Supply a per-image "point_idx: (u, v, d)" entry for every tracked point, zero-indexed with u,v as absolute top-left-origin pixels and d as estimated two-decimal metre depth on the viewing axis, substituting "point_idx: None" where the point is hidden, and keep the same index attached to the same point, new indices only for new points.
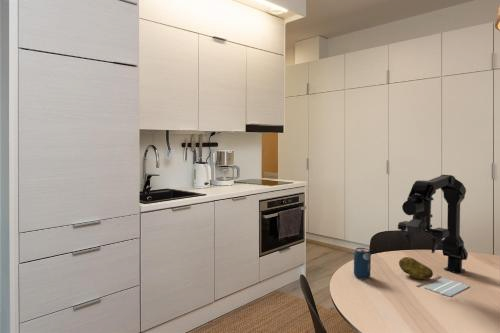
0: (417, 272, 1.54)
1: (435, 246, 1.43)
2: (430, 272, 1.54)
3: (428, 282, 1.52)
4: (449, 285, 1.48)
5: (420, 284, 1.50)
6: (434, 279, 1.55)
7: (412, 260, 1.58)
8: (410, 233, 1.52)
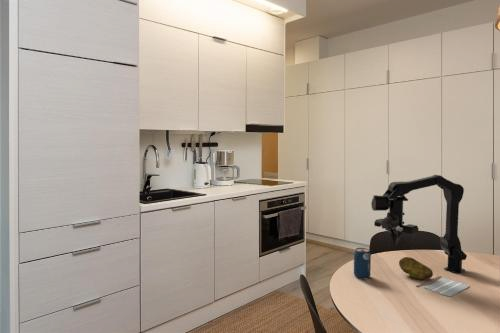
0: (417, 272, 1.54)
1: (397, 238, 1.64)
2: (430, 272, 1.54)
3: (428, 282, 1.52)
4: (449, 285, 1.48)
5: (420, 284, 1.50)
6: (434, 279, 1.55)
7: (412, 260, 1.58)
8: (394, 231, 1.65)
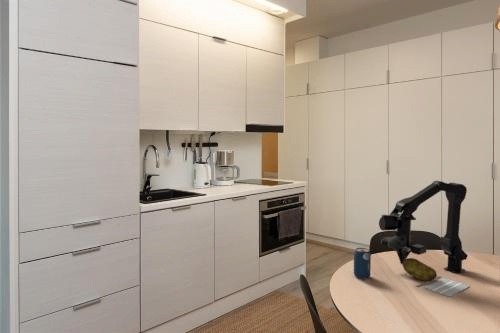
0: (422, 273, 1.53)
1: (404, 258, 1.61)
2: (434, 273, 1.53)
3: (428, 282, 1.52)
4: (449, 285, 1.48)
5: (420, 284, 1.50)
6: (434, 279, 1.55)
7: (416, 261, 1.56)
8: (401, 251, 1.63)
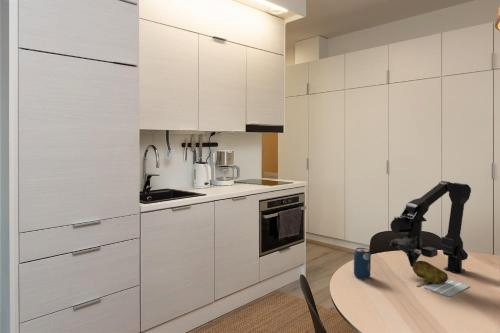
0: (432, 276, 1.49)
1: (414, 261, 1.57)
2: (445, 276, 1.49)
3: (428, 282, 1.52)
4: (449, 285, 1.48)
5: (420, 284, 1.50)
6: None
7: (426, 264, 1.52)
8: None
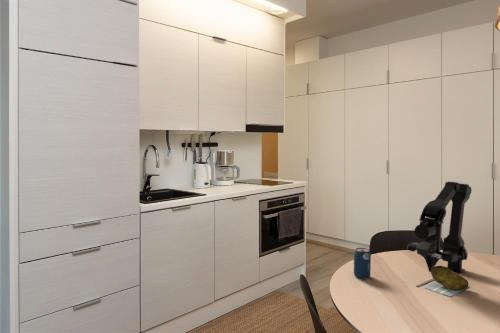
0: (453, 282, 1.43)
1: (432, 265, 1.51)
2: (466, 282, 1.42)
3: (428, 282, 1.52)
4: None
5: (420, 284, 1.50)
6: None
7: (446, 269, 1.46)
8: None
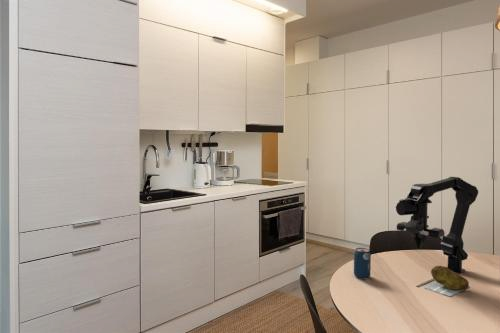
0: (453, 282, 1.43)
1: (421, 243, 1.58)
2: (466, 282, 1.42)
3: (428, 282, 1.52)
4: None
5: (420, 284, 1.50)
6: None
7: (446, 269, 1.46)
8: (418, 235, 1.59)
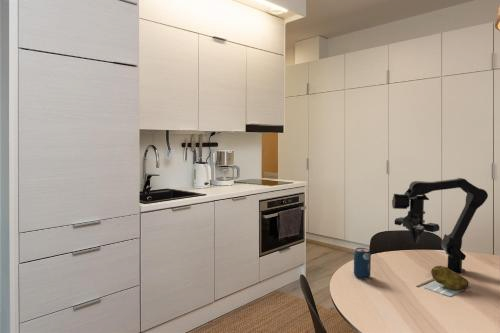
0: (453, 282, 1.43)
1: (418, 237, 1.66)
2: (466, 282, 1.42)
3: (428, 282, 1.52)
4: None
5: (420, 284, 1.50)
6: None
7: (446, 269, 1.46)
8: (414, 230, 1.68)
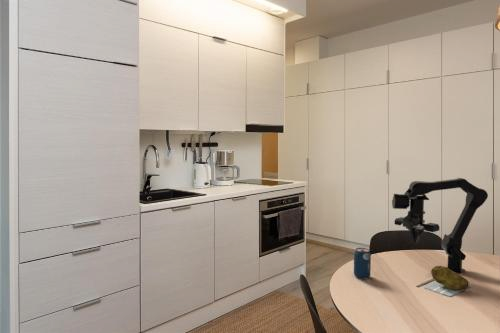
0: (453, 282, 1.43)
1: (418, 237, 1.66)
2: (466, 282, 1.42)
3: (428, 282, 1.52)
4: None
5: (420, 284, 1.50)
6: None
7: (446, 269, 1.46)
8: (414, 230, 1.68)
